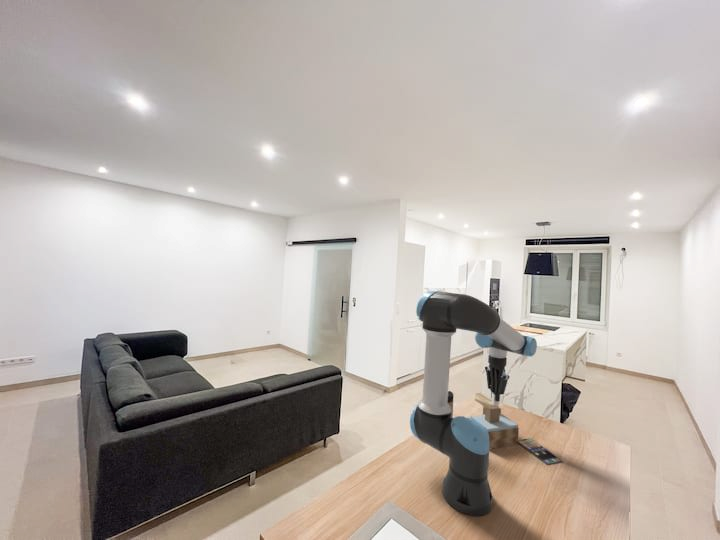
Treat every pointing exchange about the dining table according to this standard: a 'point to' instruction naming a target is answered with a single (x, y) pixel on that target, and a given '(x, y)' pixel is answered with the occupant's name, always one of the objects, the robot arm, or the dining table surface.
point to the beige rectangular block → (482, 399)
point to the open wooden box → (502, 436)
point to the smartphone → (539, 451)
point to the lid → (494, 419)
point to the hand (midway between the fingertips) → (494, 407)
